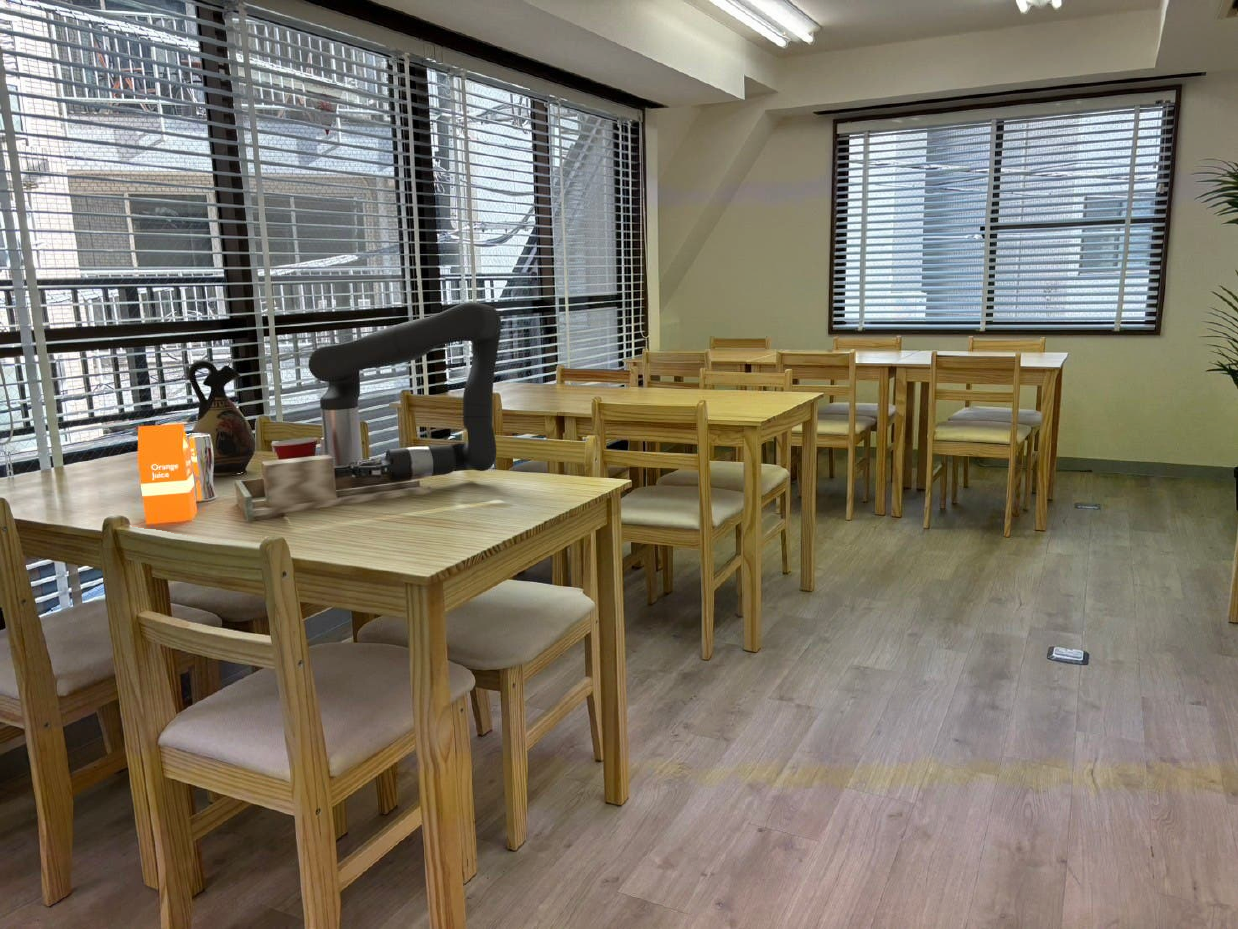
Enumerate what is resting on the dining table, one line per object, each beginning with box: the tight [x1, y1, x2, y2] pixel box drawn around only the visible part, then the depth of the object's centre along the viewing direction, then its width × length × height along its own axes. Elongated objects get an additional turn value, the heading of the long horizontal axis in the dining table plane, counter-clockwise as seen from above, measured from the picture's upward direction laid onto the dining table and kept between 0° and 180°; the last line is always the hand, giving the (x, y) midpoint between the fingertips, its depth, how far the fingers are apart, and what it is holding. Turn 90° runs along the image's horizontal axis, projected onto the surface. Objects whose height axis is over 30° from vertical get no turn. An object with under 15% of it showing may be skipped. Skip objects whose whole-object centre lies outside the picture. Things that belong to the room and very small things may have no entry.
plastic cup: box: [270, 437, 319, 460], centre depth 219 cm, size 11×11×12 cm
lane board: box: [234, 474, 432, 522], centre depth 206 cm, size 39×19×5 cm, turn 118°
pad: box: [252, 497, 266, 501], centre depth 203 cm, size 8×7×1 cm
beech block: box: [261, 455, 337, 508], centre depth 198 cm, size 14×5×10 cm, turn 119°
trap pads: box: [352, 482, 389, 488], centre depth 211 cm, size 20×7×1 cm, turn 118°
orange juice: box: [136, 423, 198, 525], centre depth 192 cm, size 8×9×20 cm
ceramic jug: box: [188, 360, 256, 477], centre depth 238 cm, size 17×15×30 cm
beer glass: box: [186, 433, 218, 503], centre depth 209 cm, size 7×7×15 cm
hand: (332, 472), depth 201 cm, fingers closed
